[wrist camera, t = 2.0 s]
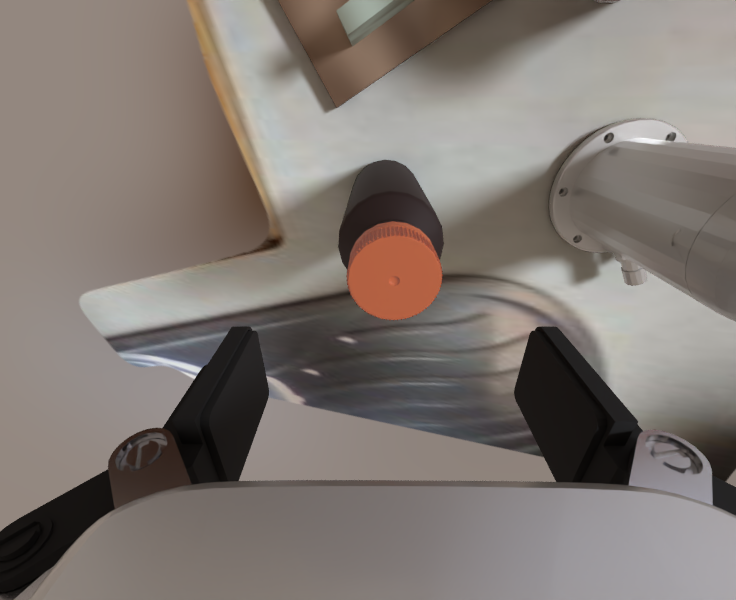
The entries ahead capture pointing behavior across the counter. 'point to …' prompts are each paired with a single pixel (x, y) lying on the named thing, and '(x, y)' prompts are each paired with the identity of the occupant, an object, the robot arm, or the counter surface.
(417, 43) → the u rest
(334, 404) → the counter surface
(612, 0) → the coffee cup
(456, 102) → the counter surface
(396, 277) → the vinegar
